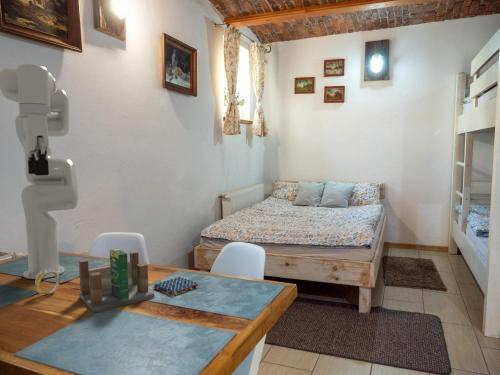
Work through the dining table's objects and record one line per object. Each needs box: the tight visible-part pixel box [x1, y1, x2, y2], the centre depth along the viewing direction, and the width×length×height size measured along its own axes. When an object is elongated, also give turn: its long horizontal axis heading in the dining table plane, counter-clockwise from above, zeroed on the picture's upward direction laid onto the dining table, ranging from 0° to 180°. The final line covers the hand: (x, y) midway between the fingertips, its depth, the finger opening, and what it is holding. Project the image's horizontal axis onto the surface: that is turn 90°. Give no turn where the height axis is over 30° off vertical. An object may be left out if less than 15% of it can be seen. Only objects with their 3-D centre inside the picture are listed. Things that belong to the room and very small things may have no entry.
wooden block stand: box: [78, 250, 155, 314], centre depth 111 cm, size 14×17×11 cm
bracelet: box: [34, 267, 61, 295], centre depth 114 cm, size 7×3×8 cm, turn 141°
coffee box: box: [109, 248, 129, 301], centre depth 108 cm, size 8×3×13 cm, turn 36°
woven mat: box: [152, 276, 199, 298], centre depth 119 cm, size 10×11×2 cm
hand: (38, 174), depth 105 cm, fingers open, 9 cm apart
